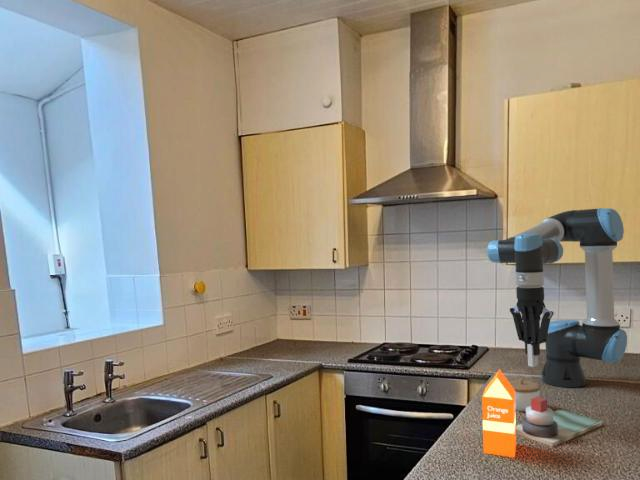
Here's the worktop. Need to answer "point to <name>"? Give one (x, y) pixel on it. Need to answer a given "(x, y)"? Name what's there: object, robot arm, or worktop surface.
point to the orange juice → (499, 417)
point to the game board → (558, 428)
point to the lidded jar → (524, 393)
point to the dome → (539, 412)
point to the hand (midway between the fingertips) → (533, 365)
